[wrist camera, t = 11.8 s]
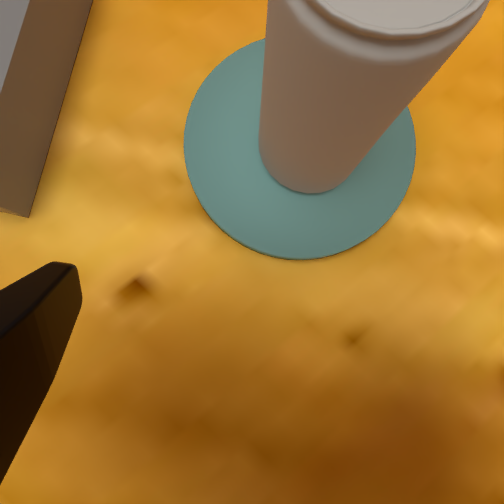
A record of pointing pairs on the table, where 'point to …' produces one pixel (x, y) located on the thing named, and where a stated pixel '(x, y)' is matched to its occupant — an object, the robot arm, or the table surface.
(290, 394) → the table surface
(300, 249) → the teal pad
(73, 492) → the table surface
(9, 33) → the can holder
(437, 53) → the beverage can
